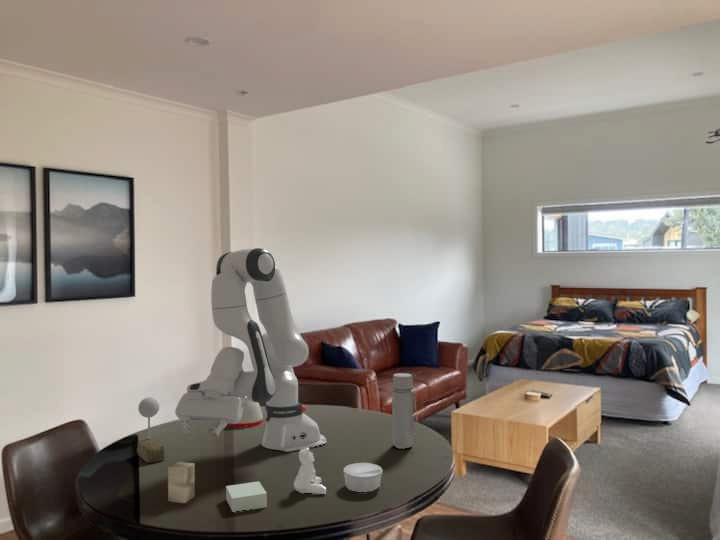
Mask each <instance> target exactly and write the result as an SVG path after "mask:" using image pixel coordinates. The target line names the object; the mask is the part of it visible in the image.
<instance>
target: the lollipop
mask: <svg viewBox="0 0 720 540" xmlns="http://www.w3.org/2000/svg"><path fill="white" fill-rule="evenodd" d="M159 411H160V403H159V401H158V400H157V399H156V398H154V397H145V398H143V399H142V400H141V401H140V402H139V404H138V413H139V415H140V416H142V417H144V418H147V440H151V418H153V417H154V416H156V415H157V414H158V413H159Z"/></svg>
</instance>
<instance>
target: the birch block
mask: <svg viewBox="0 0 720 540" xmlns="http://www.w3.org/2000/svg"><path fill="white" fill-rule="evenodd" d="M195 465H196V464H195V463H194V462H185V461H182V462H181V461H177V462H176V463H174V464H172V465H171V466H168V467H167V493H168V494H167V496H168V497H167V499H168V500H167V501H168V502H169V501H171V503H179V504H186V503H188V502H189V501H190V500H192V499H193V498H194V497H195V495H196V494H195V493H196V492H195V491H196V490H195V489H196V487H195V486H196V485H195V483H196V482H195V481H196V478H195V477H196V476H195V474H196V473H195V471H196V470H195V469H196V468H195Z"/></svg>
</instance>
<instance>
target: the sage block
mask: <svg viewBox="0 0 720 540" xmlns="http://www.w3.org/2000/svg"><path fill="white" fill-rule="evenodd" d="M226 500H227V501H226ZM225 501H226V502H228V503H227V504H229V505H228V507H229V506H230V507H229V508H231V509H230V511H231V510H232V511H231V512H234V513H237V512H236V511H240V512H243V511H242V510H246V511H251V510H250V509H252V510H257V509H265V508H267V507H268V493H267V491H266V490H265V488H264V486H263V485H262V483H261V481H258V480H257V481H252V482H245V483H239V484H232V485H231V484H230V485H226V486H225Z"/></svg>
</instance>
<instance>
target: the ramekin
mask: <svg viewBox="0 0 720 540" xmlns="http://www.w3.org/2000/svg"><path fill="white" fill-rule="evenodd" d="M382 475H383V468H382V467H381V466H380V465H378V464H375V463H371V462H356V463H351V464H348V465H345V467H344V468H343V476H344V481H345V486H346V488H347V490H349V491H350V490H352V491H357V492H367V491H373V490H375V489H377V488H378V487H379V488H380V486H381V480H382ZM379 488H378V489H379ZM378 489H377V490H378ZM352 491H351V492H352Z"/></svg>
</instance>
